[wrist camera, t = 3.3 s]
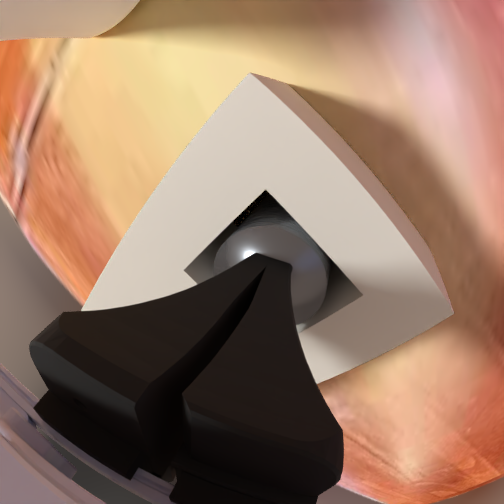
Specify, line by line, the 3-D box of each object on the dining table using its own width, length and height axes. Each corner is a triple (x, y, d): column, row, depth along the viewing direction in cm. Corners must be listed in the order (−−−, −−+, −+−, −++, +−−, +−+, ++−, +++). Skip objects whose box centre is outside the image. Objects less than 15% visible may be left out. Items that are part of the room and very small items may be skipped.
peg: (354, 237, 13) (351, 293, 10) (291, 282, 15) (268, 342, 12) (294, 170, 13) (266, 202, 9) (236, 225, 15) (193, 271, 11)
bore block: (429, 249, 13) (454, 313, 9) (211, 376, 22) (183, 426, 18) (286, 83, 12) (249, 72, 7) (115, 287, 21) (72, 327, 17)
